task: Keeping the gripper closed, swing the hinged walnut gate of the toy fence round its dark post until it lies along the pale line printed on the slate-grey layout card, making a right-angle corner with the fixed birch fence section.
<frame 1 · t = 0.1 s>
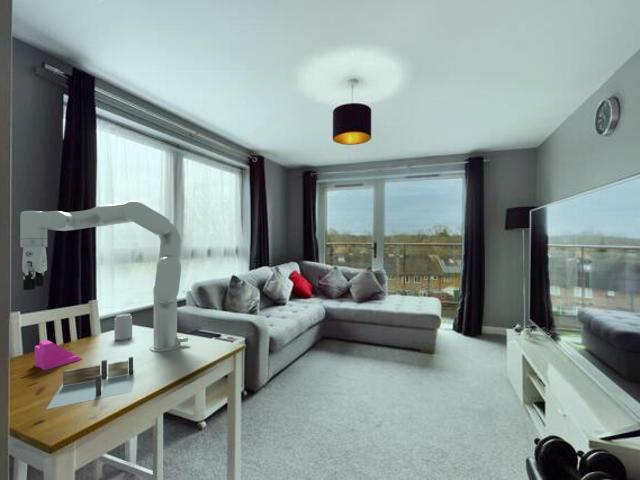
hand: (34, 287, 116), 31 cm above the table, fingers open, 9 cm apart
magenta wedge-shaped piece: (59, 363, 121), on the table
fence fixed: (104, 378, 106), resting on layout card
gate: (82, 375, 103), point 3 cm above the table, hinge at 0.0°
can: (123, 338, 151), on the table
layout card: (96, 389, 100), on the table
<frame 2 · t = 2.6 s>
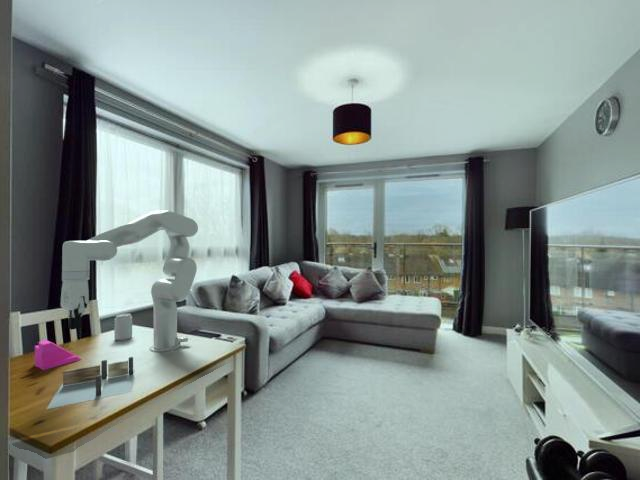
hand: (75, 328, 105), 19 cm above the table, fingers closed
nothing on the table moved.
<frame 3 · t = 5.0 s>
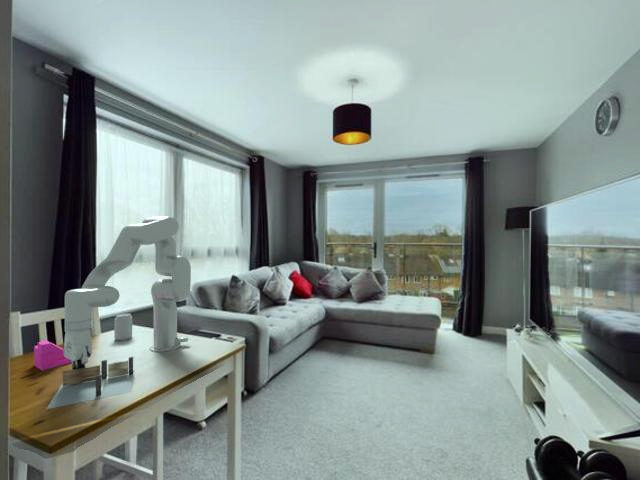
hand: (78, 377, 105), 2 cm above the table, fingers closed
gate: (81, 375, 103), point 3 cm above the table, hinge at 2.0°, touching gripper
everything else where it was.
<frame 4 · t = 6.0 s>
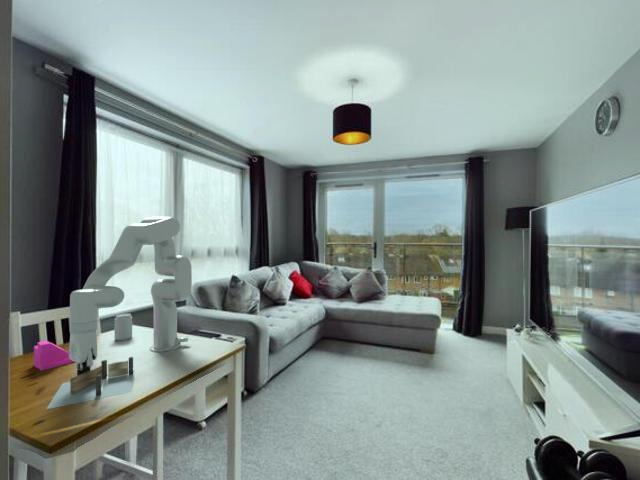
hand: (83, 380, 102), 2 cm above the table, fingers closed
gate: (86, 379, 100), point 3 cm above the table, hinge at 48.1°, touching gripper
everything else where it was.
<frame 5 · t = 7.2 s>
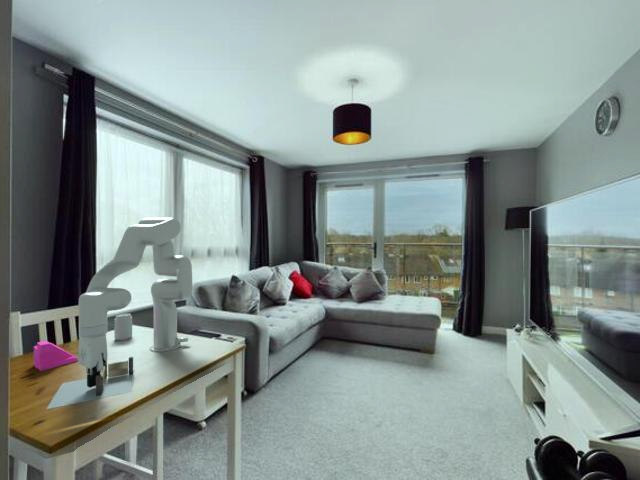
hand: (93, 385, 99), 2 cm above the table, fingers closed
gate: (102, 378, 101), point 3 cm above the table, hinge at 93.2°, touching gripper
everything else where it was.
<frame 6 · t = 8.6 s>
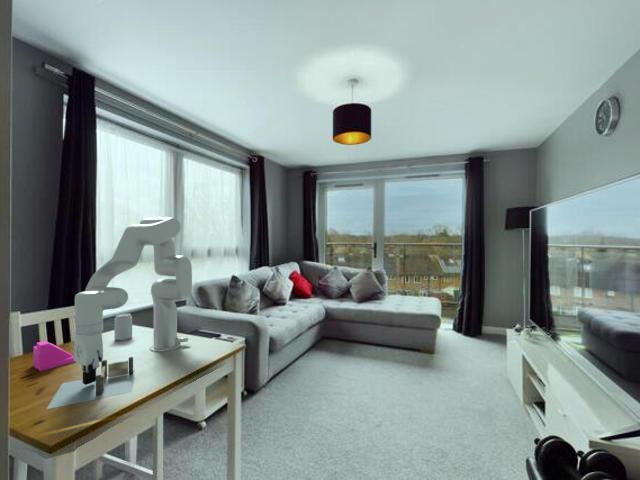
hand: (89, 382, 101), 2 cm above the table, fingers closed
gate: (103, 378, 101), point 3 cm above the table, hinge at 93.7°
everything else where it was.
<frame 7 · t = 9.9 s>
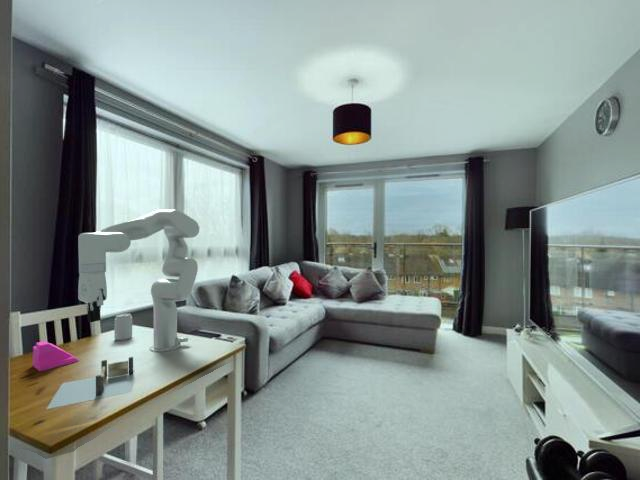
hand: (94, 320, 105), 21 cm above the table, fingers closed
nothing on the table moved.
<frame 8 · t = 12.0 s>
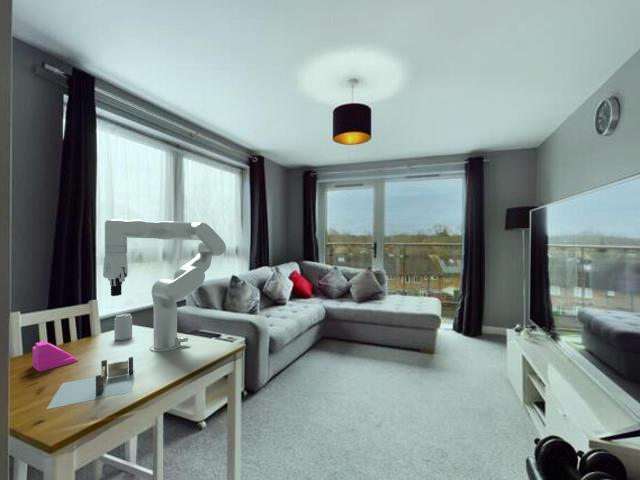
hand: (116, 295, 122), 27 cm above the table, fingers closed
at the end: gate at +94° (first picture: +0°); the gripper is holding nothing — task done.
